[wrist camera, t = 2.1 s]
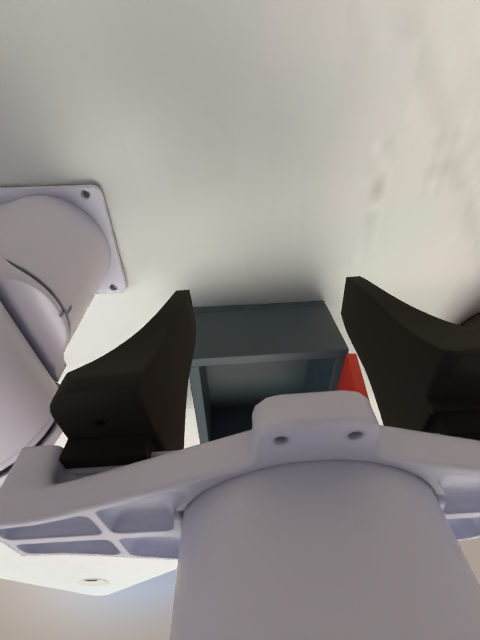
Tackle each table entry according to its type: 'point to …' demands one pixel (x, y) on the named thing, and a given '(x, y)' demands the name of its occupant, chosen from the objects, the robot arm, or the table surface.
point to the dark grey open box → (260, 360)
